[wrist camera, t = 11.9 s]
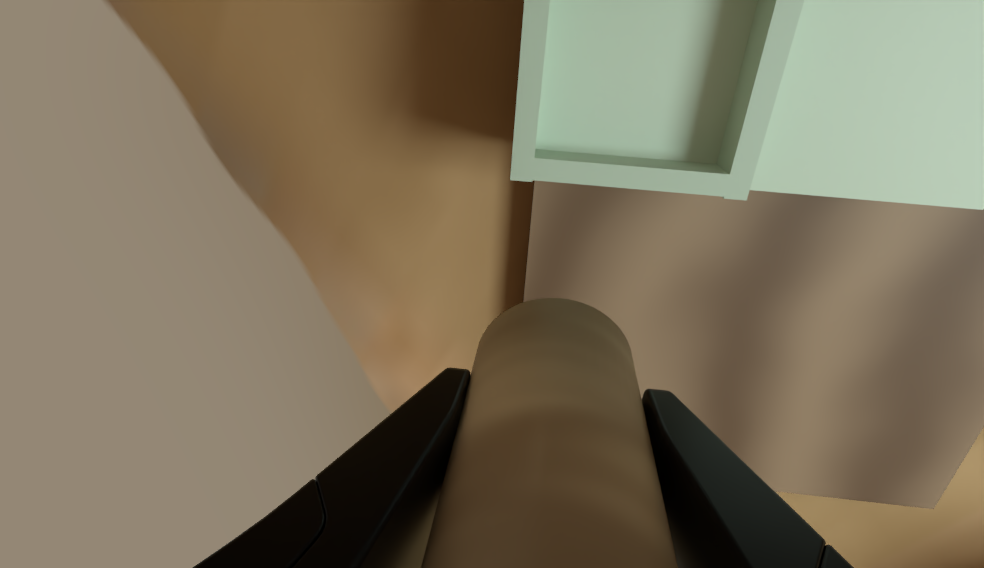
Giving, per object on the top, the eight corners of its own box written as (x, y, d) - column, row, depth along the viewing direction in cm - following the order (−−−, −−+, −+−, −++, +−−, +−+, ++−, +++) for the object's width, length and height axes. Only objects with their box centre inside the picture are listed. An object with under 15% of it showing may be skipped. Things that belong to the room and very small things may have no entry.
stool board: (1266, -111, 14) (1316, -121, 13) (918, 490, 23) (933, 509, 22) (563, -139, 15) (564, -151, 14) (509, 445, 24) (508, 461, 24)
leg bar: (1030, -49, 14) (1179, -75, 10) (926, 187, 17) (1018, 224, 13) (535, -77, 14) (532, -109, 11) (517, 153, 17) (509, 180, 14)
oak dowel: (645, 305, 9) (762, 691, 4) (619, 434, 11) (680, 852, 5) (478, 291, 9) (372, 633, 4) (474, 418, 11) (389, 800, 5)
